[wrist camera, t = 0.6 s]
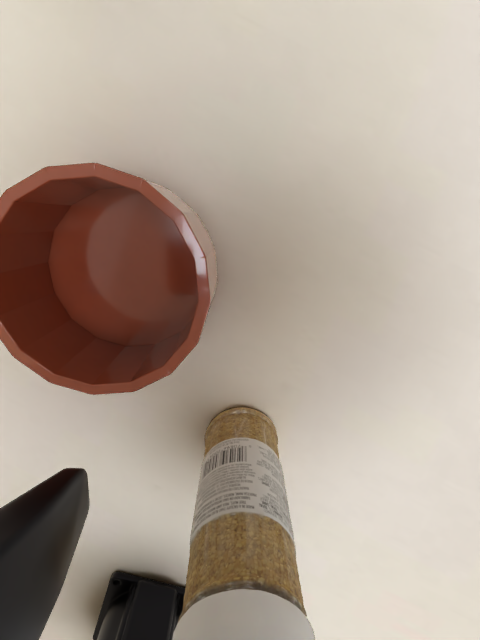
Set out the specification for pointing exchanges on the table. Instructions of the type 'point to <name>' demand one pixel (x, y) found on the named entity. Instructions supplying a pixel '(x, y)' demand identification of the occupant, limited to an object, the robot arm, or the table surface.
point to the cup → (101, 277)
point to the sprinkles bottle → (242, 540)
